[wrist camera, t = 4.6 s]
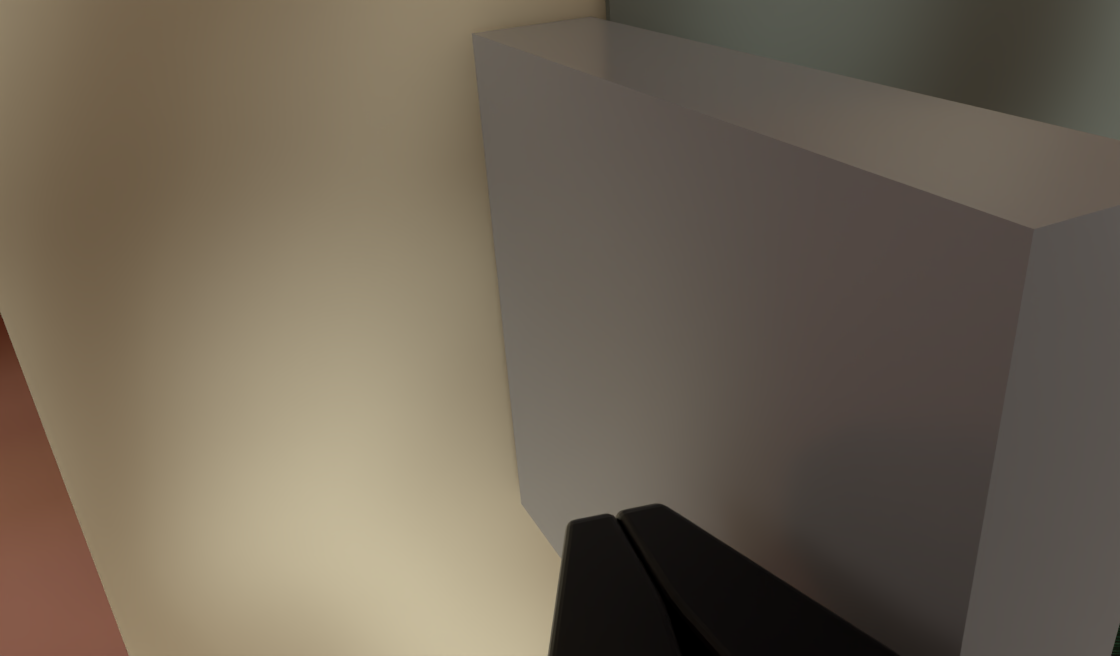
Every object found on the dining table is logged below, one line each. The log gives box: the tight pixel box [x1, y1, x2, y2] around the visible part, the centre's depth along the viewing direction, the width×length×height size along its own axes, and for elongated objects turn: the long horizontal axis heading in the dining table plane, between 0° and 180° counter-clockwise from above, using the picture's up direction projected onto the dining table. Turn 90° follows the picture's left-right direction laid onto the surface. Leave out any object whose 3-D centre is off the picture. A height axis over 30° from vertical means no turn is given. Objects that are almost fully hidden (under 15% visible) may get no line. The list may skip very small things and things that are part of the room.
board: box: [0, 0, 1120, 656], centre depth 14 cm, size 18×16×1 cm
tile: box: [472, 16, 1120, 656], centre depth 10 cm, size 2×7×8 cm, turn 4°
